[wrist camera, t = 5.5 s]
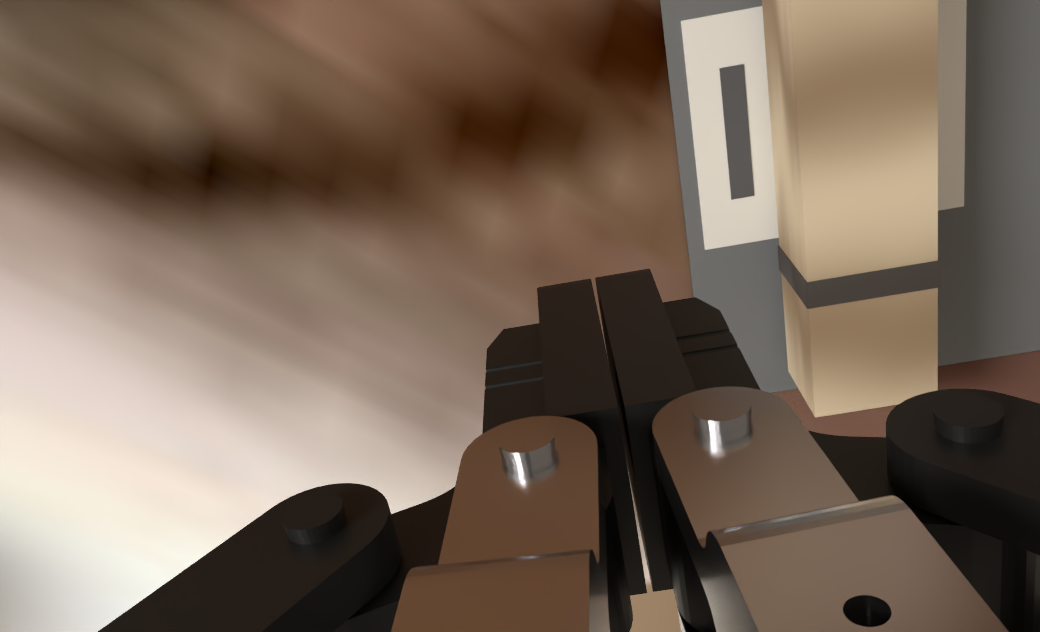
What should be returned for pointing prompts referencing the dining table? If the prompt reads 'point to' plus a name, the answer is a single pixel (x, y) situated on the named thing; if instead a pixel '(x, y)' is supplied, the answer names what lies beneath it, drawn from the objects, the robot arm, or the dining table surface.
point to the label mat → (961, 176)
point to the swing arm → (856, 196)
